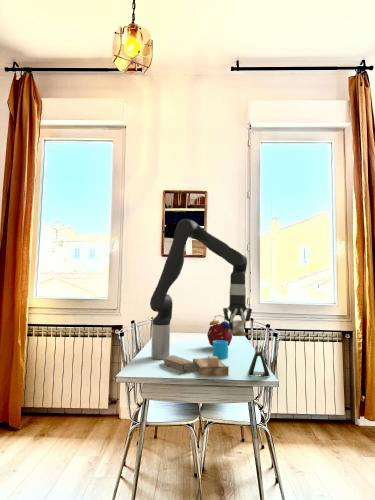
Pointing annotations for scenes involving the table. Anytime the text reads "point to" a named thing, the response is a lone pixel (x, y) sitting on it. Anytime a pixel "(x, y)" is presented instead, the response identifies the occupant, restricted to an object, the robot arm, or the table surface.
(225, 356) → the mug
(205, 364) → the dock
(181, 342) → the table surface
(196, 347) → the table surface
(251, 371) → the dark a-shaped stand
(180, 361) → the packaged product
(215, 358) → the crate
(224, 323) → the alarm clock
